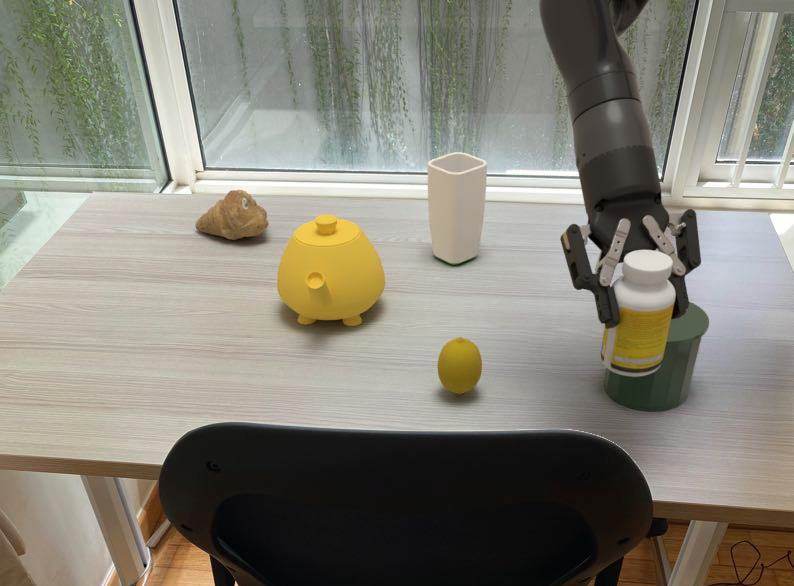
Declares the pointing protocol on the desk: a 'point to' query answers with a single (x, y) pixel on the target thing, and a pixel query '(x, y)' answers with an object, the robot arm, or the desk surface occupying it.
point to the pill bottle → (640, 315)
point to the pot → (657, 381)
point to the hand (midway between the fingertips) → (646, 321)
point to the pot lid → (688, 326)
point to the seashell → (234, 217)
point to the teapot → (330, 272)
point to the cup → (456, 205)
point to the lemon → (459, 365)
